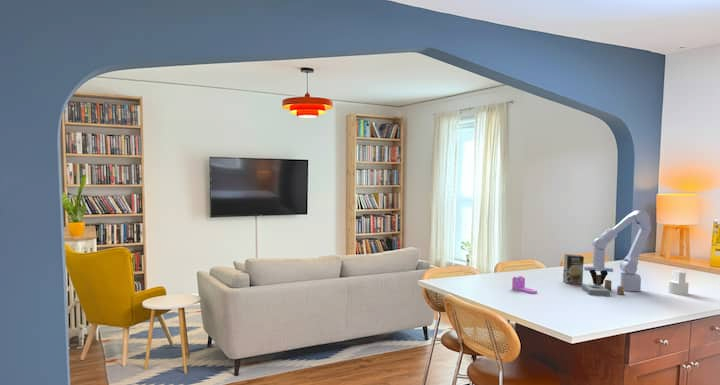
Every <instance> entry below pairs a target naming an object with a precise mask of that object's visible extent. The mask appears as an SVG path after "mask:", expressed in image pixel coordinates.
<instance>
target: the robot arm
mask: <svg viewBox="0 0 720 385" xmlns="http://www.w3.org/2000/svg"><path fill="white" fill-rule="evenodd" d="M630 224H636V225H637V227H638V228H639V229H638V232H637V234H636V236H635V238H634V240H633V243H632V245H631V247H630V249H629V252H628V254H627V255H626V256H625V257H624V259H623V260H622V261H621V262H620V263H619V268H620V270H621V271H620V281H619V282H620V284H619V286H623V287H624V292H625V291H626V292H642V290H641V287H642V286H641V285H642V277H641V275H640V274H637V270H638V264H639V257H640V255H641V253H642V250H643V249H644V246H645V243H646V242H647V240H648V237H649V235H650V233H651V230H652V224H651V216H650V215H649V214H648V212H647V211H644V210H641V209H640V210H638V209H634V210H633V211H632V212H631V213H629V214H627V215H626V216H625V217H624V218H622V220H621V221H619V223H618V224H616V225H615V226H614V227H613V228H607V229H605V231H604V232H603V233H602V234H601V235H598V237H597V238H595V239H593V242H592V246H593V260H592V262H593V263H592V266H583V271H586V272H587V271H588V272H589V273H590V276H591V279H592V285H595V284H596V274H597V272H600V273H599V274H600V275H602V277H601V285H602V286H603V285H604V283H605V280H606V278H607V276H608V273H609V272H610V273H614V268H612V267H605V266H606V265H605V263H606V248H607V246H608V245H609V244H610V243H611V242H612V241H613V240H614V239H616V238H617V237H618V233H620V232H621V231H622V230H623V229H626V228H627V227H629V225H630Z"/></svg>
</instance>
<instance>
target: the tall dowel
mask: <svg viewBox="0 0 720 385" xmlns="http://www.w3.org/2000/svg"><path fill="white" fill-rule="evenodd" d="M601 277H602V275H601V274H596V284H594V285H601Z"/></svg>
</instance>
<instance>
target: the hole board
mask: <svg viewBox="0 0 720 385" xmlns="http://www.w3.org/2000/svg"><path fill="white" fill-rule="evenodd" d="M581 290H583V291H584V292H586V294H587V295H589V296H590V295H591V296H604V297H605V296H608V297H610V296H611V291H609V290H608V289H606V288H605V286H603V285H595V284H587V283H585V284H584V283H582V284H581Z"/></svg>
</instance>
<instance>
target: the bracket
mask: <svg viewBox="0 0 720 385" xmlns="http://www.w3.org/2000/svg"><path fill="white" fill-rule="evenodd" d="M511 286H512V287H511V289H512V290H514V291H518V292H523V293H527V294H532V295H537V294H538V289H533V288H529V287H526V278H525V276H523V275H520V276H514V277H513V278H512V285H511Z"/></svg>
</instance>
